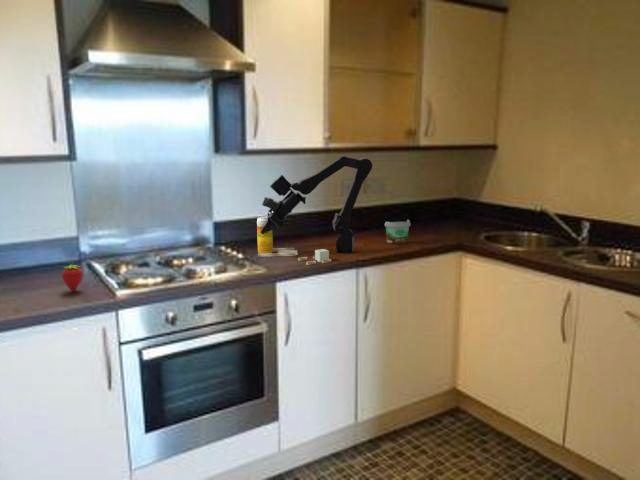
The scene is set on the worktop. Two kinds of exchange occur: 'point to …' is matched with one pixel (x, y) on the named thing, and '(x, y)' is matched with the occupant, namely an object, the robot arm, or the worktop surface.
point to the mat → (289, 251)
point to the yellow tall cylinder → (264, 237)
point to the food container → (397, 232)
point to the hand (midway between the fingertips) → (261, 231)
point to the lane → (278, 253)
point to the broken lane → (313, 261)
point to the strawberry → (72, 276)
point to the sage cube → (321, 255)
